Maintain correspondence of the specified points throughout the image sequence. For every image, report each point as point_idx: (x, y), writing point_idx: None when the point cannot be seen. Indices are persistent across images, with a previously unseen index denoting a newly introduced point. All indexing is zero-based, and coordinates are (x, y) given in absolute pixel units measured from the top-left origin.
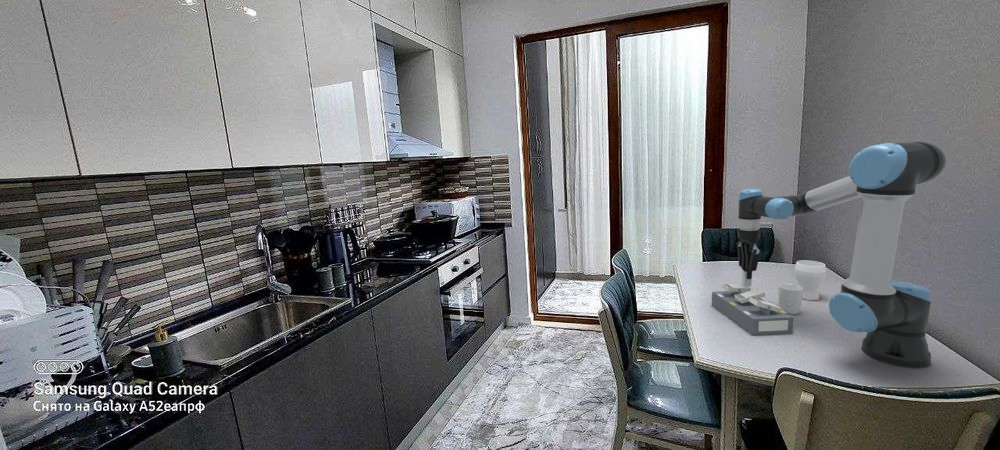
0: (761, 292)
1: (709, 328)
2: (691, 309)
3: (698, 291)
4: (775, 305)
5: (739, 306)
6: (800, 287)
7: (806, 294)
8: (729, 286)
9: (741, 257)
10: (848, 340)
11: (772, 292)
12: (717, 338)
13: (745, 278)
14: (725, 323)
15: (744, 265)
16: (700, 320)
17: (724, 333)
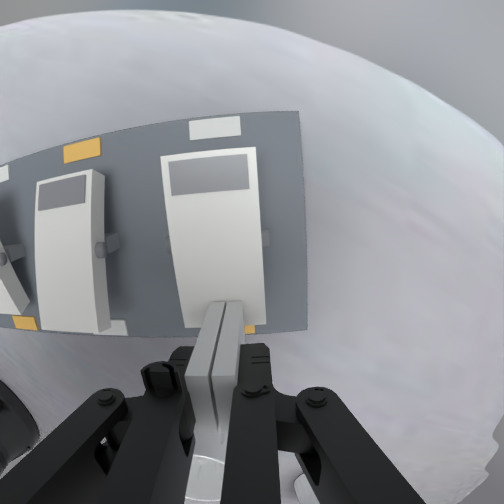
0: (48, 318)
1: (57, 53)
2: (238, 25)
3: (459, 164)
4: (2, 308)
5: (55, 172)
6: (203, 496)
7: (306, 485)
8: (183, 176)
9: (340, 499)
10: (31, 394)
11: (384, 426)
12: (7, 70)
13: (200, 338)
14: (81, 114)
15: (230, 428)
16: (119, 33)
17: (23, 93)
